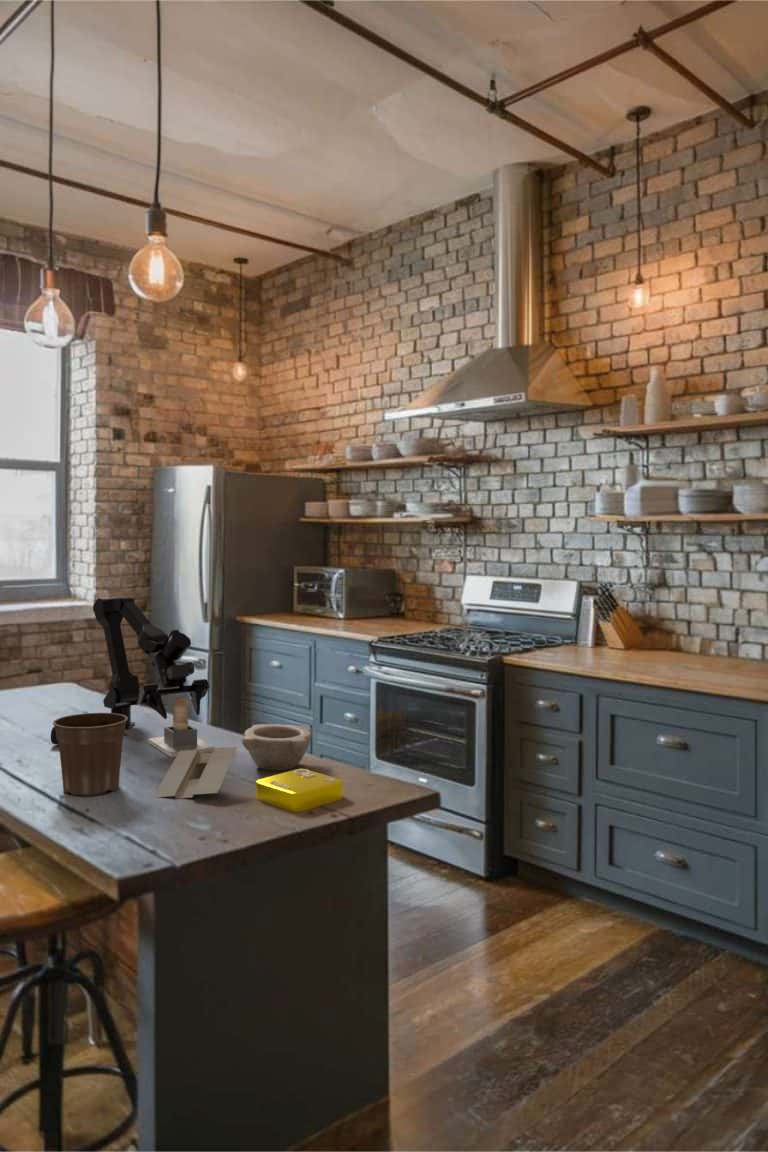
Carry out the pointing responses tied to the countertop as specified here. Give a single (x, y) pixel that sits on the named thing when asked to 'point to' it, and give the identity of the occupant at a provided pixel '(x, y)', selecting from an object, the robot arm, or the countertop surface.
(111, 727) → the plant pot
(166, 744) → the post socket base
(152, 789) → the countertop surface
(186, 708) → the rail post
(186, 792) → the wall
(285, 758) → the mortar
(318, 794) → the element tile
